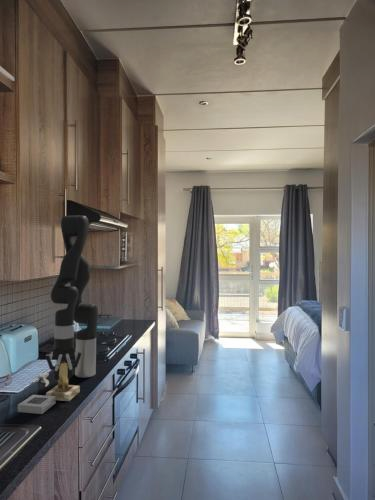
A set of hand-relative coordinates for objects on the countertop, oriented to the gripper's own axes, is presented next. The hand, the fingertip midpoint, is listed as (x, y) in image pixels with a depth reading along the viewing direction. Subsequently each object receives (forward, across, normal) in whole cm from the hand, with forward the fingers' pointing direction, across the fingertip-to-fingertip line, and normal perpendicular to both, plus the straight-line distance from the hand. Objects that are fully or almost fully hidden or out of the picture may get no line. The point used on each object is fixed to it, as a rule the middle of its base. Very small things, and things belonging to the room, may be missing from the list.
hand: (63, 378), depth 145 cm
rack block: (+7, 0, 0) cm, 7 cm away
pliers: (+7, -9, +21) cm, 24 cm away
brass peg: (+3, 0, 0) cm, 3 cm away
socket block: (+7, -9, -8) cm, 14 cm away
